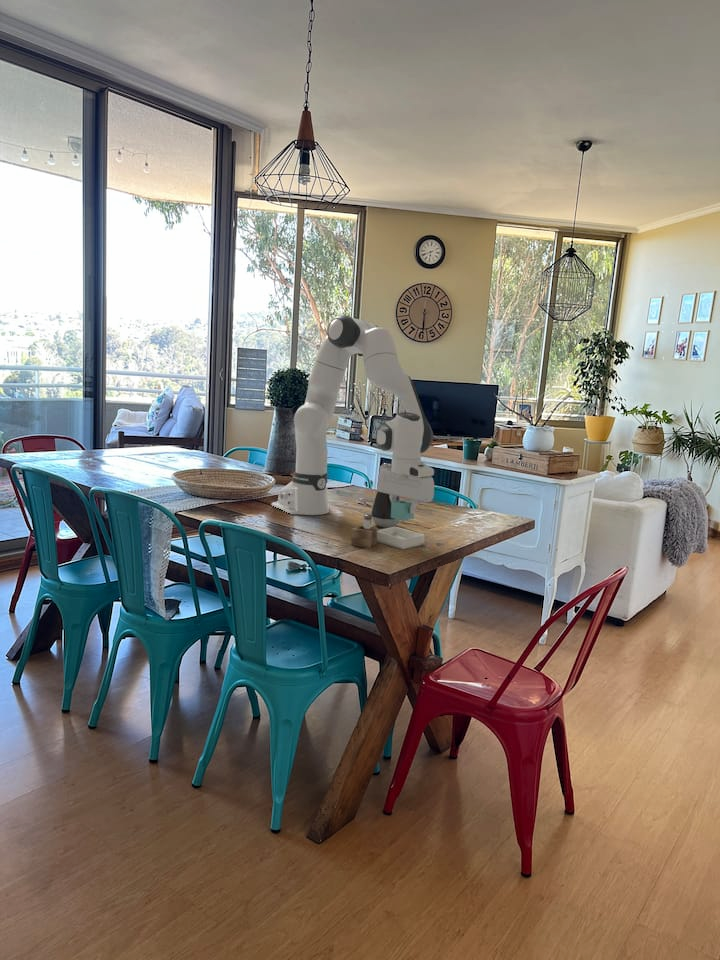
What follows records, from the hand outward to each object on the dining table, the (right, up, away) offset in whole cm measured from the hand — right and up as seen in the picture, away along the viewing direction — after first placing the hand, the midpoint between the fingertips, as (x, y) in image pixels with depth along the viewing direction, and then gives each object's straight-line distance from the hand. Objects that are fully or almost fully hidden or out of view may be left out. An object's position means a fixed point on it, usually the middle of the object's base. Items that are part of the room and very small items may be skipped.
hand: (403, 511), depth 214 cm
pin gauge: (-11, -10, -2) cm, 15 cm away
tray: (-1, -10, +2) cm, 10 cm away
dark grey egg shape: (-5, -6, +22) cm, 23 cm away
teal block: (0, -2, 0) cm, 2 cm away
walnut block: (-12, -10, -3) cm, 16 cm away
